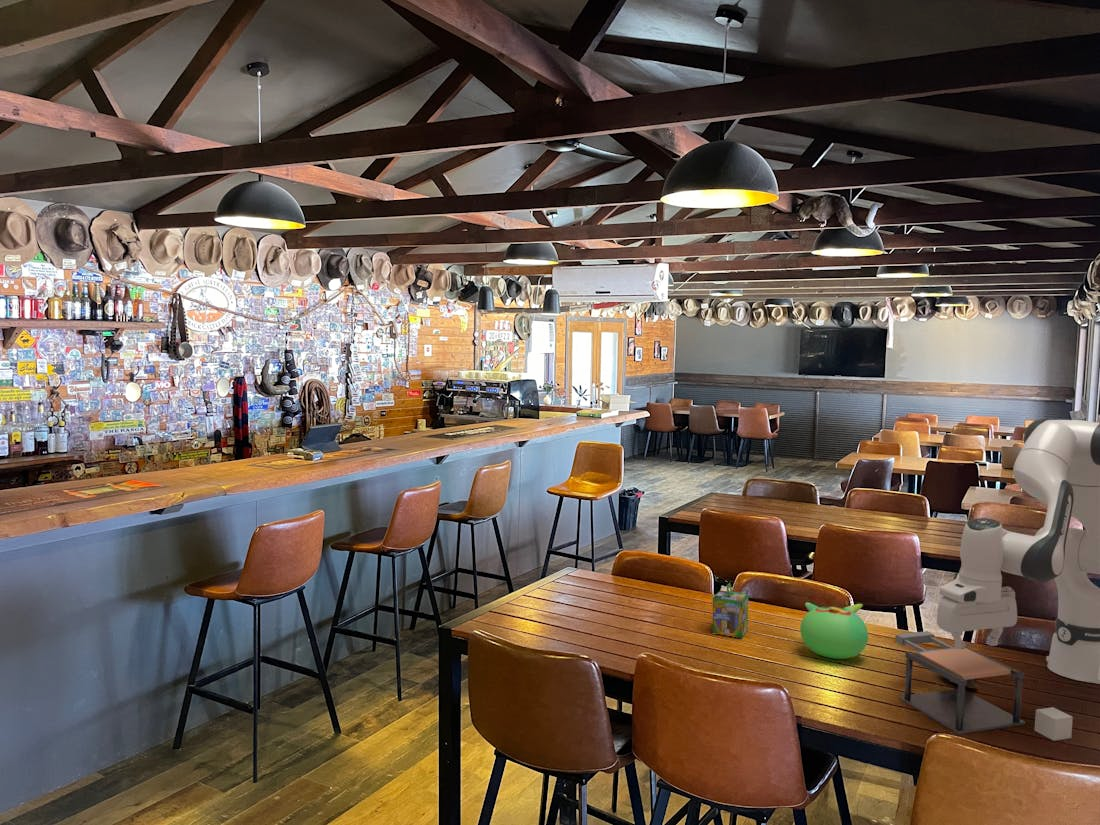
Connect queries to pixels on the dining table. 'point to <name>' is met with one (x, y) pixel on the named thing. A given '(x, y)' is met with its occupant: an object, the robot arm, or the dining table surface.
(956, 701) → the stand
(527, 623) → the dining table surface
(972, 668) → the trapdoor
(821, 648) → the green rounded blob
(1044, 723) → the grey cube
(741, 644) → the dining table surface
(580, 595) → the dining table surface
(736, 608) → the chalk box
